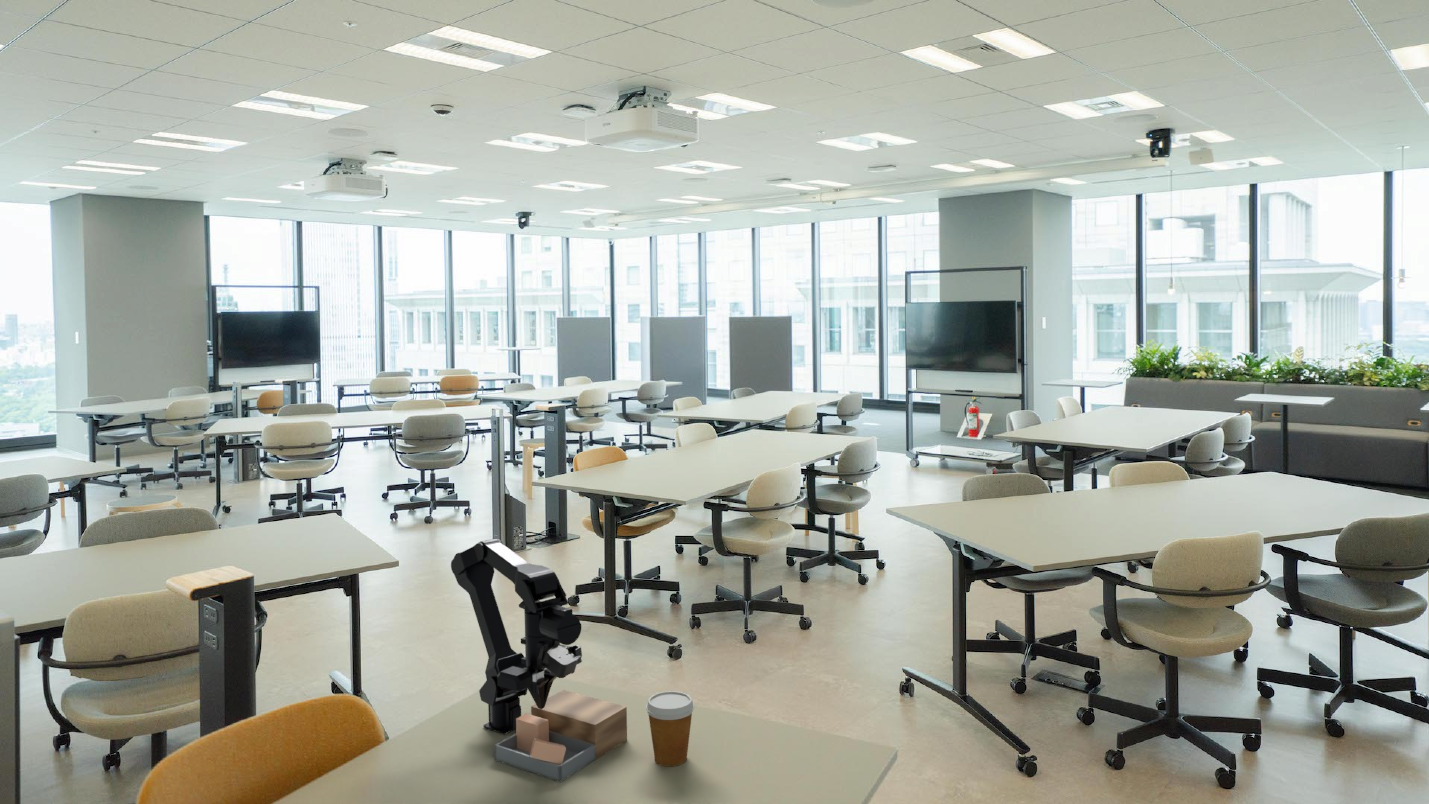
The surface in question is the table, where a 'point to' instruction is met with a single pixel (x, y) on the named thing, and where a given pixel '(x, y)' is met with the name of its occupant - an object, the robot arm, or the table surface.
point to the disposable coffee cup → (670, 726)
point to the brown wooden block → (585, 719)
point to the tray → (573, 761)
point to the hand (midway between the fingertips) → (541, 708)
